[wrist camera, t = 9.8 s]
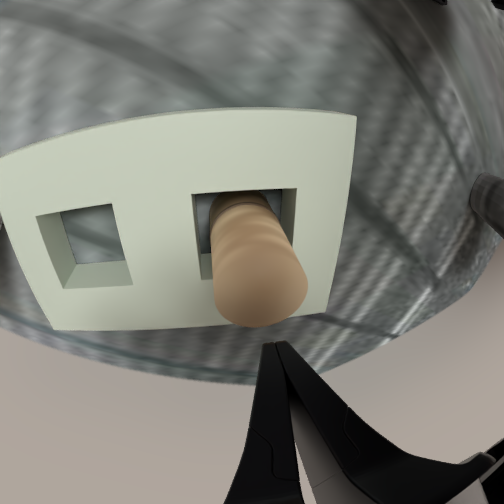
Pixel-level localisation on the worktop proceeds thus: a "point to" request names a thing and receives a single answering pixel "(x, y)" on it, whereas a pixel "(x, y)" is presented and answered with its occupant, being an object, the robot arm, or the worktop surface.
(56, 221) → the board
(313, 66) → the worktop surface
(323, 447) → the robot arm
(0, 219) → the supplement box
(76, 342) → the worktop surface
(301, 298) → the peg
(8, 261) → the worktop surface
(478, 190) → the beverage cup
